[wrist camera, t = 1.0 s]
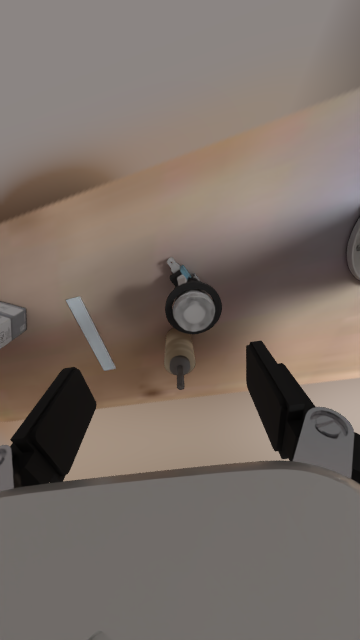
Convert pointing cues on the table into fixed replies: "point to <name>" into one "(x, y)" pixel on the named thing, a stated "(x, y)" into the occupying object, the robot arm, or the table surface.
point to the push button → (191, 302)
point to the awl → (179, 355)
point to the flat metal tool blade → (90, 332)
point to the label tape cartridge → (11, 322)
